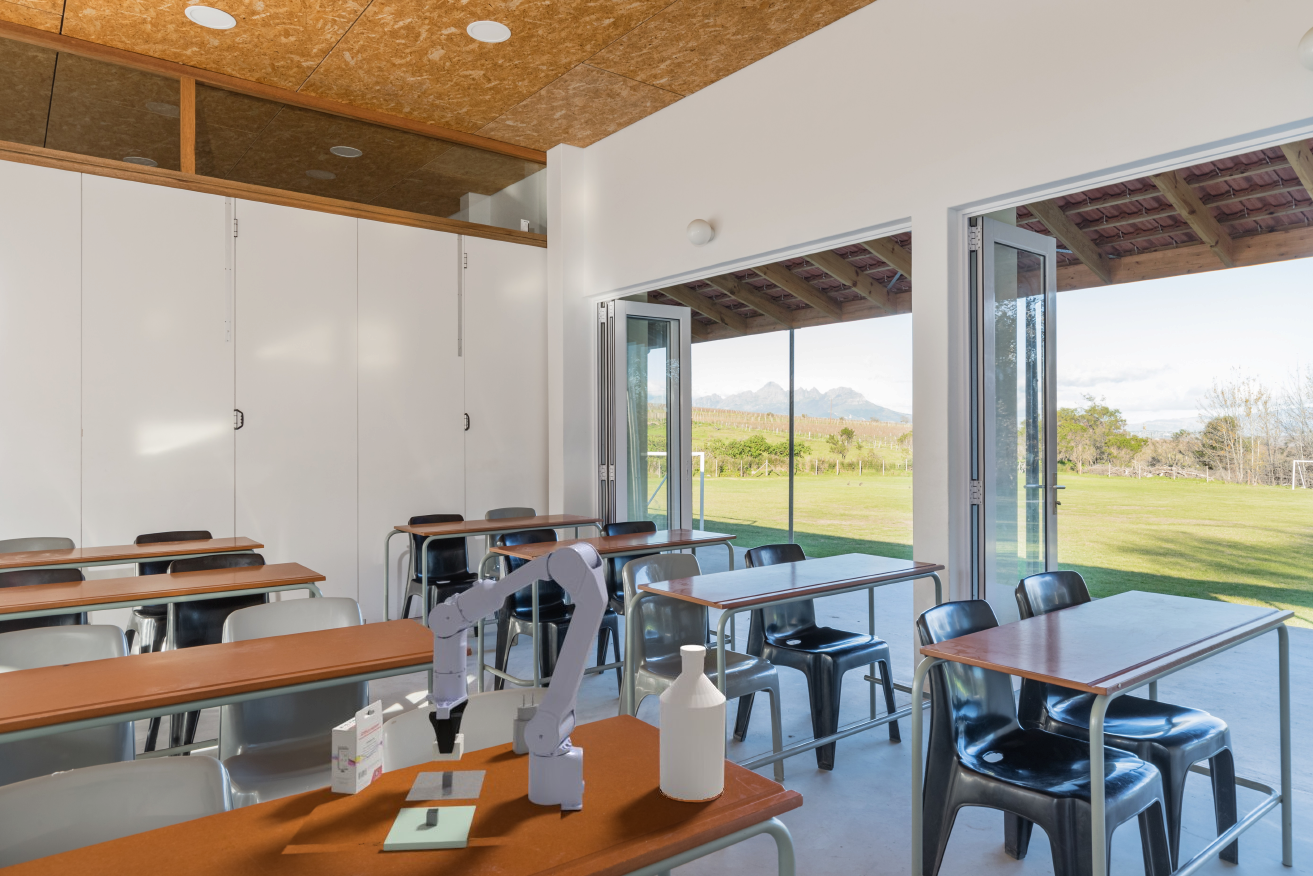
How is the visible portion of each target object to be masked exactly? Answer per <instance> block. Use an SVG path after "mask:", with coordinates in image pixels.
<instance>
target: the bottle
mask: <svg viewBox="0 0 1313 876" xmlns="http://www.w3.org/2000/svg"><path fill="white" fill-rule="evenodd" d="M679 648H680V650H679V651H680V653H679V655H680V656H681V673H680V674H679V675H678V677H677V678H676V679H675V680H673V682H672V683H671V684H670V685H669V686H668V687H667V688H666V689H665V690H664V691H663V692H661V694H659V790H660V789H661V790H662V792H664V793H665V794H667V795H668V796H671V797H673V798H678V799H683V800H703V799H707V798H712V797H715V796H717V795H718V794H720V793H721V792H722V791H723V788H724V789H725V787H724V785H725V784H724V783H725V749H726V747H725V746H726V739H725V738H726V707H727V705H726V704H727V698H726V696H725V695H724V694H723V693H722V692H721V691H720V690H719V689H718V688H717V687H716V686H715V685H714V684H713V682H712V681H711V680H710V678H708V676H707V675H706V674H705V673H704V669H705V665H704V663H705V657H706V656H707V655H706V654H707V651H706V650H707V649H706V647H705V646H703V645H698V644H697V645H696V644H687V645H682V646H680V647H679ZM723 792H724V791H723Z"/></svg>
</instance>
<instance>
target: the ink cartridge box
mask: <svg viewBox="0 0 1313 876" xmlns="http://www.w3.org/2000/svg"><path fill="white" fill-rule="evenodd" d="M368 712H372V714H368ZM383 717H384V716H383V705H382V700H381V699H378V700H377V701H375V702H372V703H371V704H370V705H367V706H365V707H364V708H362V709H360V710H358V711H357V712H355V715H354V717H352V718H350V719H349V720H346V721H345V722H343V723H341V724H339V725H337V726H336V727H333V728H332V729H331V793H338V794H349V795H350V794H351V795H356V794H358V793H359V792H361V791H363V790H364V789H366V787H368V786H369V785H371V784H372V783H373V782H375V781H376V780H377V779H379V778H380V777H382V775H383V773H382V772H383V735H384V734H383V733H384V732H383V731H384V730H383V727H384V725H383V724H384V723H383V721H384V720H383V719H384V718H383Z"/></svg>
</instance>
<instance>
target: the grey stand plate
mask: <svg viewBox="0 0 1313 876" xmlns="http://www.w3.org/2000/svg"><path fill="white" fill-rule="evenodd" d="M486 773H487V770H481V769H480V770H457V771H456V770H450V771H448V770H447V771H446V770H445V771H421V772H419V773H418V774H417V776H416V778H415V780H414V782H413V784H412V786H411V788H410V790H409V791H408V794H407V796H406V798H405V802H406V801H407V802H410V801H411V802H412V801H437V800H463V799H464V800H465V799H466V800H469V799H472V800H473V799H479V797H480V794H481V789H482V787H483V782H484V779H485V775H486Z"/></svg>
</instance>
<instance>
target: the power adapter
mask: <svg viewBox="0 0 1313 876" xmlns="http://www.w3.org/2000/svg"><path fill="white" fill-rule="evenodd" d="M522 697H523V699H522V704H520V705H519V706H517V717H513V723H512V725H513V727H512V729H513V733H512V751H513V752H514V753H515V754H516V755H524V754H529V748H528V746H527V745H526V743H525V739H524V730H525V727H526V725H527V723H528V722H529V721H530V720H531V719H532V718H533V717H534V716H535V714H536V712H537V709H538V707H539V705H540V703H534V701H535V700H534V699H535V698H534V697H535V694H534V692H532V694H531V697H532V698H531V703H525V702H526V699H525V698H526V697H525V693H524V694H522Z"/></svg>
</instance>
